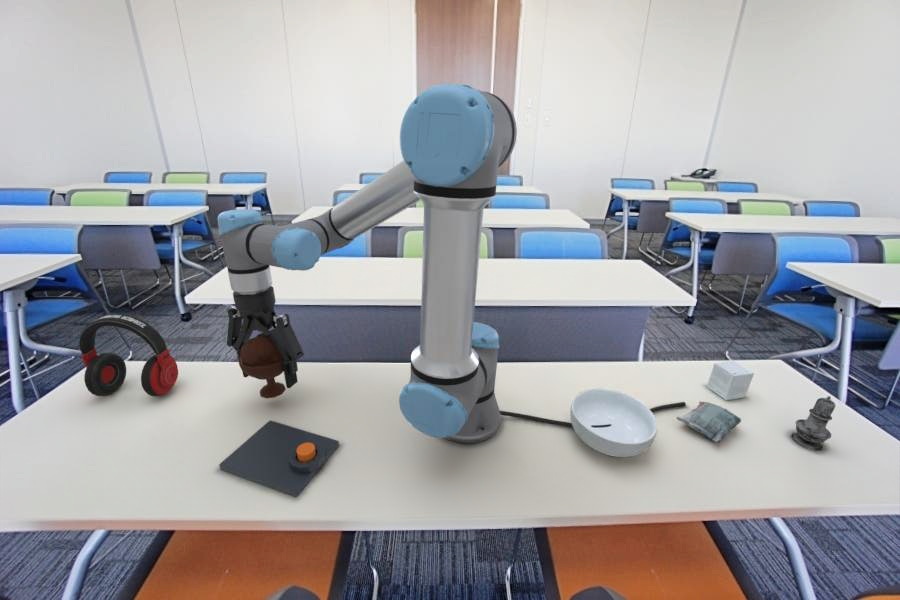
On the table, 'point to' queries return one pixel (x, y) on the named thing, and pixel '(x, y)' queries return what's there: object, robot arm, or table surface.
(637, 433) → the cereal bowl
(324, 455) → the scale
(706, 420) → the packaged food
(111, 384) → the headphones
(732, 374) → the product box
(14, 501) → the table surface
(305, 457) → the button
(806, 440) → the grey chess piece
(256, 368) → the ice cream bowl
